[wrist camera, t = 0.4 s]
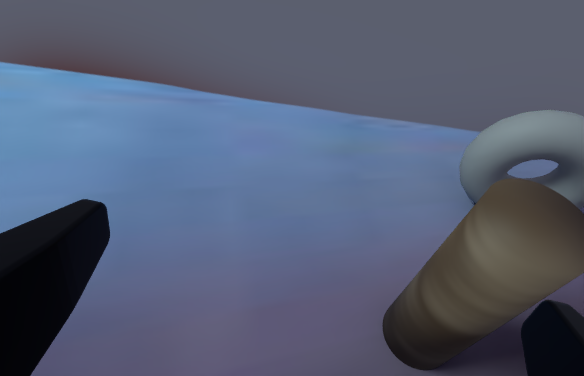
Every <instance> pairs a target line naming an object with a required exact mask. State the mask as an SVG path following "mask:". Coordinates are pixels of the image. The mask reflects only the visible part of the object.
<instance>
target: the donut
mask: <svg viewBox="0 0 584 376" xmlns="http://www.w3.org/2000/svg"><path fill="white" fill-rule="evenodd" d="M538 159H545V160H551V161H554V162H557V163H558V164H559V165H558V167H557V168H556V169H554V170H553V171H552V172H550V173H548V174H546V175H544V176H540V177H536V178H526V179H525V180H530V181H533V182H536V183H539V184H542V185H544V186H546V187H549V188H551V189H552V190H554V191H556V192H558V193H559V194H561V195H562V196H564V197H565V198H567V199H568V200H569V201H571V202H572V203H573V204H574V205H575V206H576V207H577V208H578V209H581V208H582V207H584V117H583V116H580V115H578V114H575V113H571V112H562V111H555V110H544V111H533V112H525V113H521V114H518V115H515V116H512V117H509V118H505V119H502V120H500V121H499V122H497V123H495V124H493V125H492V126H490V127H488V128H487V129H485V130H483V131H482V132H481V133H480V134H479V135H478V136H477V137H476V138H475V139H474V140H473V141H472V142H471V143H470V144H469V145H468V146H467V148H466V150H465V153H464V155H463V157H462V159H461V162H460V181H461V185H462V186H463V188H464V190H465V192H466V194H467V195H468V197H469V198H470V199H471V200H472V201H473V202H475V203H477V202H478V201H479V199H480V198H481V197H482V196H483V195H484V193H485V192H486V191H487V190H488V189H489V187H490V186H491V185H493V184H494V183H496V182H497V181H500V180H503V179H510V178H516V177H513V176H511V175H508V174H507V172H508V171H509V170H510V169H511V168H512V167H514V166H516V165H518V164H520V163H522V162H526V161H529V160H538ZM517 179H522V178H517Z"/></svg>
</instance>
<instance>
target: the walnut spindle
mask: <svg viewBox="0 0 584 376" xmlns="http://www.w3.org/2000/svg"><path fill="white" fill-rule="evenodd" d="M582 273H584V214H583V213H582V212H581V211H580V210H579V209H578V208H577V207H576V206H575V205H574V204H573V203H572V202H571V201H569V200H568V199H567V198H565V197H564V196H562V195H561V194H559V193H558V192H556V191H554V190H552V189H551V188H549V187H546V186H544V185H542V184H539V183H536V182H533V181H530V180H525V179H517V178H510V179H503V180H500V181H497V182H496V183H494V184H493V185H491V186H490V187H489V189H488V190H487V191H486V192H485V193H484V195H483V196H482V197H481V198H480V199H479V201H478V202H477V203H476V204H475V205H474V207H473V208H472V209H471V210H470V211H469V213H468V214H467V215H466V216H465V217H464V219H463V220H462V221H461V222H460V223H459V225H458V226H457V227H456V228H455V229H454V231H453V232H452V233H451V234H450V235H449V237H448V238H447V239H446V240H445V241H444V243H443V244H442V245H441V246H440V247H439V249H438V250H437V251H436V252H435V253H434V254H433V256H432V257H431V258H430V259H429V260H428V262H427V263H426V264H425V265H424V266H423V268H422V269H421V270H420V271H419V272H418V274H417V275H416V276H415V277H414V278H413V280H412V281H411V282H410V283H409V284H408V286H407V287H406V288H405V289H404V290H403V292H402V293H401V294H400V295H399V296H398V298H397V299H396V300H395V301H394V302H393V304H392V305H391V306H390V307H389V308H388V310H387V311H386V313H385V315H384V319H383V334H384V337H385V340H386V343H387V345H388V346H389V348H390V350H391V351H392V352H393V354H394V355H395V356H396V357H397V358H398V359H399V360H400V361H402V362H403V363H405V364H406V365H408V366H410V367H412V368H415V369H420V370H431V369H434V368H437V367H439V366H440V365H442V364H443V363H445V362H447V361H448V360H450V359H451V358H453V357H454V356H456V355H457V354H459V353H460V352H462V351H464V350H465V349H467V348H468V347H470V346H471V345H473V344H474V343H476V342H477V341H479V340H481V339H482V338H484V337H485V336H487V335H488V334H490V333H491V332H493V331H494V330H496V329H497V328H499V327H501V326H502V325H504V324H505V323H507V322H508V321H510V320H511V319H513V318H514V317H516V316H518V315H519V314H521V313H522V312H524V311H525V310H527V309H528V308H530V307H531V306H533V305H535V304H536V303H538V302H539V301H541V300H542V299H544V298H545V297H547V296H548V295H550V294H552V293H553V292H555V291H556V290H558V289H559V288H561V287H562V286H564V285H565V284H567V283H569V282H570V281H572V280H573V279H575V278H576V277H578V276H579V275H581V274H582Z"/></svg>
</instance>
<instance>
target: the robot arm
mask: <svg viewBox="0 0 584 376" xmlns="http://www.w3.org/2000/svg"><path fill="white" fill-rule="evenodd" d="M109 238H110V228H109V221H108V214H107V208H106V206H105V204H103V203H102V202H97V201H93V200H88V199H82V200H79V201H77V202H74V203H72V204H70V205H67V206H65V207H63V208H60V209H58V210H55V211H53V212H51V213H48V214H46V215H43V216H41V217H39V218H36V219H34V220H31V221H29V222H27V223H24V224H22V225H20V226H17V227H15V228H12V229H10V230H8V231H5V232H3V233H0V376H30V375H31V374H32V372H33V371H34V369H35V368H36V366H37V365H38V363H39V362H40V360H41V359H42V357H43V356H44V354H45V353H46V351H47V350H48V348H49V346H50V345H51V343H52V342H53V340H54V339H55V337H56V336H57V334H58V333H59V331H60V330H61V328H62V327H63V325H64V324H65V322H66V321H67V319H68V318H69V316H70V314H71V313H72V311H73V310H74V308H75V306H76V304H77V302H78V301H79V299H80V297H81V295H82V293H83V291H84V289H85V287H86V285H87V283H88V281H89V279H90V278H91V276H92V274H93V272H94V270H95V268H96V266H97V264H98V262H99V260H100V258H101V256H102V254H103V252H104V250H105V248H106V246H107V244H108V242H109ZM521 338H522V344H523V350H524V356H525V362H526V368H527V374H528V376H584V317H583V316H581V315H580V314H579V313H578V312H577V311H576V310H575V309H573V308H572V307H571V306H570V305H568V304H565V303H561V302H556V301H552V300H545V301H543V302H541V303H540V304H539V305H538V306H537V308H536V309H535V310H534V311H533V312H532V313H531V315H530V316H529V317H528V318H527V319H526V320H525V321H524V323H523V325H522V328H521Z"/></svg>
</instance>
